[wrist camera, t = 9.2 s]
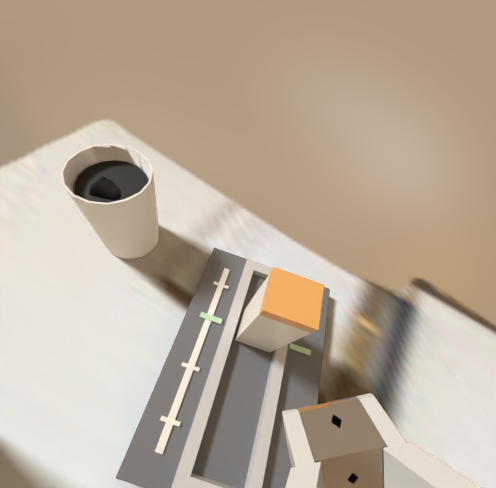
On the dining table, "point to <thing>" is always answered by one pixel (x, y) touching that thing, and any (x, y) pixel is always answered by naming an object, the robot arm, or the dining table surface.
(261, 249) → the dining table surface
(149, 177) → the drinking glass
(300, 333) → the fader
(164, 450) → the console
